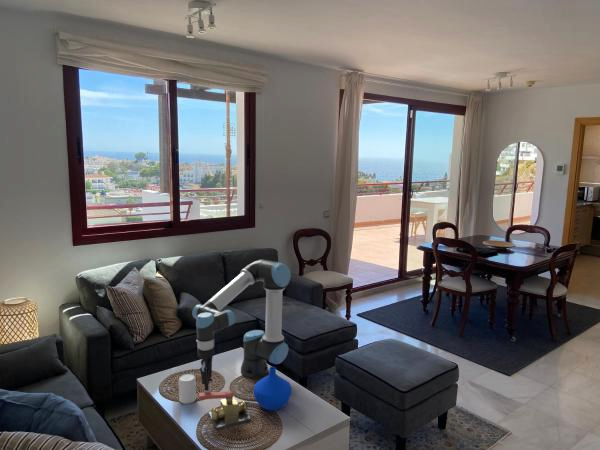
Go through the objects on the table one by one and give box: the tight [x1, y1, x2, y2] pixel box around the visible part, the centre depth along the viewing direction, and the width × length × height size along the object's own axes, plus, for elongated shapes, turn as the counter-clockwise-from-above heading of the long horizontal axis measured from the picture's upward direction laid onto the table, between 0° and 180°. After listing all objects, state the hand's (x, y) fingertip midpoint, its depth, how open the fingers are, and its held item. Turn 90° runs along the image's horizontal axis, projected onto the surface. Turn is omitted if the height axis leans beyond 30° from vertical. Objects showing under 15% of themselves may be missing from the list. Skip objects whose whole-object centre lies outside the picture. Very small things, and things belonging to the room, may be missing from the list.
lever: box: [198, 390, 234, 401], centre depth 203 cm, size 15×4×2 cm, turn 97°
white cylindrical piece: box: [178, 373, 197, 405], centre depth 219 cm, size 8×8×12 cm
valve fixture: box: [208, 396, 252, 431], centre depth 205 cm, size 16×13×10 cm
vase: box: [253, 366, 292, 411], centre depth 215 cm, size 18×18×19 cm
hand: (207, 395), depth 205 cm, fingers closed
